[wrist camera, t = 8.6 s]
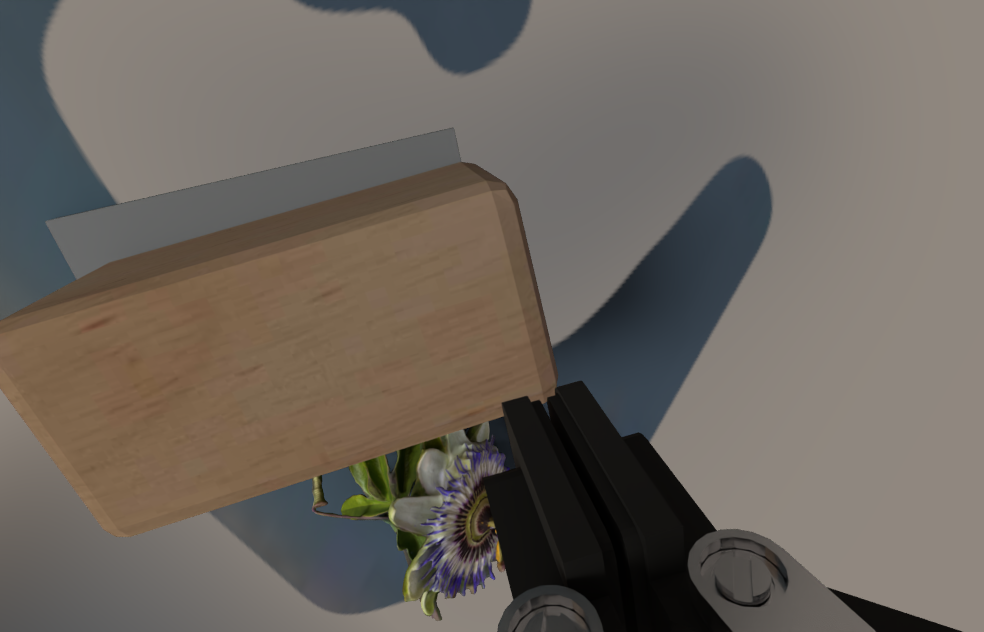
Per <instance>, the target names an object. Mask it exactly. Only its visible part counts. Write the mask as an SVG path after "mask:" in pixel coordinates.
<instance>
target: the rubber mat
mask: <svg viewBox="0 0 984 632" xmlns="http://www.w3.org/2000/svg"><path fill="white" fill-rule="evenodd" d="M458 162H461V158H460V154H459V149H458V145H457V140H456V136H455V131H454V128H449V129H445V130H440V131H436V132H432V133H427V134H424V135H418V136H414V137H410V138H406V139H401V140H397V141H392V142H388V143H383V144H379V145H375V146H370V147H367V148H362V149H357V150H353V151H348V152H344V153H340V154H336V155H331V156H327V157H322V158H318V159H314V160H309V161H305V162H301V163H296V164H292V165H287V166H283V167H279V168H274V169H270V170H266V171H261V172H257V173H252V174H248V175H244V176H239V177H235V178H230V179H226V180H222V181H217V182H213V183H209V184H204V185H200V186H195V187H191V188H187V189H182V190H178V191H174V192H169V193H165V194H161V195H156V196H152V197H148V198H143V199H139V200H134V201H130V202H125V203H121V204H117V205H112V206H108V207H104V208H99V209H95V210H90V211H86V212H82V213H77V214H73V215H69V216H64V217H60V218H55V219H51V220H48V221H45V222H46V224H47V226H48V228H49V230H50V232H51V233H52V235H53V237H54V239H55V241H56V243H57V244H58V246H59V248H60V250H61V252H62V254H63V255H64V257H65V259H66V261H67V263H68V265H69V266H70V268H71V270H72V272H73V274H74V276H75V277H76V279H79V278H81V277H83V276H85V275H87V274H89V273H90V272H92V271H94V270H96V269H98V268H100V267H102V266H104V265H105V264H107V263H109V262H113V261H116V260H120V259H123V258H127V257H130V256H134V255H137V254H141V253H144V252H148V251H151V250H155V249H158V248H161V247H165V246H168V245H172V244H175V243H179V242H182V241H186V240H189V239H193V238H196V237H200V236H203V235H207V234H210V233H214V232H217V231H221V230H224V229H228V228H231V227H235V226H238V225H242V224H245V223H249V222H252V221H256V220H259V219H263V218H266V217H270V216H273V215H277V214H280V213H284V212H287V211H291V210H294V209H298V208H301V207H305V206H308V205H312V204H315V203H319V202H322V201H326V200H329V199H333V198H336V197H340V196H343V195H347V194H350V193H354V192H357V191H361V190H364V189H368V188H371V187H375V186H378V185H382V184H385V183H389V182H392V181H396V180H399V179H402V178H406V177H409V176H413V175H416V174H420V173H423V172H427V171H430V170H434V169H437V168H441V167H444V166H448V165H451V164H455V163H458Z"/></svg>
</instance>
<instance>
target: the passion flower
mask: <svg viewBox="0 0 984 632" xmlns="http://www.w3.org/2000/svg"><path fill="white" fill-rule="evenodd" d="M489 432H490V430H489V422H488V421H487V422H484V423H481V424H478V425H475V426H472V427H470V428H469V430H468V432H467V434H465V430H464V429H463V430H459V431H456V432H453V433H450V434H447V435H444V436H441V437H438V438H435V439H432V440H428V441H425V442H422V443H419V444H416V445H413V446H410V447H407V448H404V449H401V450H398V451H396V452H397V462H396V465H395V468H394V469H393V470H392V471H391V472H390V468H389V466H388V461H387V458H386V454H385V455H382V456H379V457H376V458H373V459H370V460H367V461H363V462H360V463H357V464H354V465H351V466H349V470H350V472H351V474H352V475H353V477H354V479H355V481H356V483H358V484H359V486H360V487H361V488H362V491H363V492H364V493H365V495H366V496H368V497H366V496H365V495H363V494H359V495H353V496H351V497H350V498H348V499H347V500H346V501H345V502H344V504H343V505H342V509H341V512H342V514H343V515H338V514H334V513H324V512H319V511H316V508H317V507H321V506H325V505H327V504H328V502H327V501H325V499H324V493H323V489H322V475H320V476H317V477H314V478H312V481H313V488H312V493H313V495H314V503H313V507H312V511H313V512H315V513H316V514H319V515H324V516H331V517H336V518H347V519H351V520H382V521H384V522H386V523H388V524H390V526H391V527H392V528H393V530H394V531H395V532H396V534H397V547H398V550H399V551H402V550H403V551H404V554H405V558H406V560H407V563H408V566H409V567H408V569H407V571H406V574H405V578H404V582H403V595H404V601H405V602H408V601H416V600H418V599H420V602H421V606H422V609H423V612H424V613H425V615H427V616H431V615H432V618H435V619H436V621H440V620H442V617H441V614H440V611H439V608H438V607H437V602H436V600H437V595H438V593H439V592H442V593H444V595H445V599H446V598H455V597H456V594H457V592H458V593H460V594H461V595H462V596H465V590H466V589H470V592H471V594H475V593H476V591H477V586H478V585H482V589H484V588H485V585H484V580H485V578H487V577H490V578H492V579H494V580H495V576H494V574H493V572H492V563H491V562H493V561H497V567H498V569H499V571H500V572H503V571H505V565H504V561H503V557H502V553H501V549H500V545H499V541H498V537H497V533H496V529H495V525H494V521H493V517H492V513H491V509H490V505H489V502H488V498H487V494H486V490H485V486H484V482H483V478H484V477H487V476H491V475H494V474H498V473H501V472H504V471H508V470H509V469H510V468H509V467H505V466H504V461H505V459H506V456H505V455H504V454H503V453H498V449H497V447H496V446H494V445H493V443H494V440H495V436H494V438H493V440H492V437H493V435H492V437H491V440H490V442H488V440H489ZM415 480H416V482H415ZM414 482H415V485H414V487H413V490H412V493H411V496H410V492H411V488H412V486H413V483H414ZM409 496H410V497H409ZM378 515H379V516H378Z"/></svg>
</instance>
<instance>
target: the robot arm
mask: <svg viewBox="0 0 984 632" xmlns="http://www.w3.org/2000/svg"><path fill="white" fill-rule="evenodd" d="M547 404H548V409H549V415H550V418H549V416H548V414H547V413H546V411H545V409H544V407H543V405H542V403H541V401H540V400H536V401H532V402H531V401H530V399H529V397H528V396H524V397H520V398H516V399H513V400H509V401H506V402H502V409H503V414H504V418H505V423H506V427H507V431H508V436H509V440H510V444H511V449H512V453H513V457H514V462H515V466H516V468H515V469H511V470H508V471H504V472H501V473H498V474H494V475H491V476H487V477H484V478H483V482H484V486H485V490H486V494H487V498H488V502H489V505H490V509H491V513H492V517H493V521H494V525H495V529H496V533H497V537H498V541H499V545H500V549H501V553H502V557H503V561H504V565H505V569H506V573H507V576H508V580H509V584H510V588H511V592H512V596H513V601H512V602H511V604H510V605H509V606H508V607H507V608H506V609H505V611H504V613H503V615H502V618H501V620H500V622H499V624H498V631H497V632H962V631H959V630H955V629H953V628H950V627H947V626H943V625H940V624H937V623H935V622H931V621H928V620H925V619H922V618H919V617H916V616H913V615H910V614H907V613H904V612H901V611H898V610H895V609H891V608H888V607H886V606H882V605H879V604H876V603H873V602H870V601H867V600H864V599H861V598H858V597H855V596H852V595H848V594H846V593H843V592H840V591H837V590H834V589H831V588H827V587H825V586H824V585H823V584H822V583H821V582H820V581H819V580H818V579H817V578H816V577H814V576H813V575H812V574H811V573H810V572H809V571H808V570H806V569H805V568H804V567H803V566H802V565H801V564H800V563H799V562H797V561H796V560H795V559H794V558H793V557H792V556H791V555H790V554H789V553H788V552H786V551H785V550H784V549H783V548H781V547H780V546H779V545H777V544H776V543H774V542H773V541H771V540H770V539H768V538H765V537H763V536H761V535H759V534H756V533H753V532H749V531H744V530H739V529H726V530H718V531H717V530H716V529H715V528H714V526H713V525H712V524H711V522H710V521H709V520H708V519H707V517H706V516H705V515H704V513H703V512H702V511H701V509H700V508H699V507H698V505H697V504H696V503H695V501H694V500H693V499H692V498H691V496H690V495H689V494H688V492H687V491H686V490H685V488H684V487H683V486H682V484H681V483H680V482H679V481H678V479H677V478H676V477H675V475H674V474H673V473H672V471H671V470H670V469H669V467H668V466H667V465H666V463H665V462H664V461H663V460H662V458H661V457H660V456H659V454H658V453H657V452H656V451H655V449H654V448H653V446H652V445H651V444H650V443H649V441H648V440H647V439H646V438H645V437H644V435H643V434H641V433H639V432H638V433H635V434H632V435H628V436H625V437H621V436H620V435H619V433H618V432H617V430H616V429H615V427H614V426H613V424H612V423H611V422H610V420H609V419H608V417H607V416H606V414H605V413H604V411H603V410H602V409H601V407H600V406H599V404H598V403H597V401H596V400H595V398H594V397H593V396H592V394H591V393H590V391H589V390H588V388H587V387H586V385H585V384H584V383H583V382H582V381H577V382H574V383H570V384H567V385H563V386H559V387H556V388H555V395H554V396H550V397H547Z"/></svg>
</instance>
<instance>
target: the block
mask: <svg viewBox="0 0 984 632" xmlns="http://www.w3.org/2000/svg"><path fill="white" fill-rule="evenodd" d="M557 379H558V372H557V368H556V363H555V359H554V355H553V350H552V346H551V342H550V337H549V333H548V329H547V325H546V320H545V316H544V312H543V308H542V303H541V299H540V295H539V291H538V286H537V282H536V277H535V274H534V269H533V264H532V260H531V256H530V252H529V248H528V243H527V239H526V235H525V230H524V226H523V222H522V217H521V213H520V209H519V204H518V201H517V198H516V197H515V196H514V194H513V193H512V191H511V190H510V188H509V187H508V186H507V184H506V183H504V182H503V181H501V180H500V179H498V178H497V177H495V176H493V175H492V174H490V173H489V172H487V171H485V170H484V169H482V168H480V167H479V166H477V165H476V164H472V163H464V162H458V163H455V164H451V165H448V166H444V167H441V168H437V169H434V170H430V171H427V172H423V173H420V174H416V175H413V176H409V177H406V178H402V179H399V180H396V181H392V182H389V183H385V184H382V185H378V186H375V187H371V188H368V189H364V190H361V191H357V192H354V193H350V194H347V195H343V196H340V197H336V198H333V199H329V200H326V201H322V202H319V203H315V204H312V205H308V206H305V207H301V208H298V209H294V210H291V211H287V212H284V213H280V214H277V215H273V216H270V217H266V218H263V219H259V220H256V221H252V222H249V223H245V224H242V225H238V226H235V227H231V228H228V229H224V230H221V231H217V232H214V233H210V234H207V235H203V236H200V237H196V238H193V239H189V240H186V241H182V242H179V243H175V244H172V245H168V246H165V247H161V248H158V249H155V250H151V251H148V252H144V253H141V254H137V255H134V256H130V257H127V258H123V259H120V260H116V261H113V262H109V263H107V264H105V265H104V266H102V267H100V268H98V269H96V270H94V271H92V272H90V273H89V274H87V275H85V276H83V277H81V278H79V279H77V280H75V281H74V282H72V283H70V284H68V285H66V286H64V287H62V288H61V289H59V290H57V291H55V292H53V293H51V294H49V295H47V296H46V297H44V298H42V299H40V300H38V301H36V302H34V303H33V304H31V305H29V306H27V307H25V308H23V309H21V310H19V311H18V312H16V313H14V314H12V315H10V316H8V317H6V318H5V319H3V320H1V321H0V389H1V390H2V391H3V393H4V394H5V396H6V397H7V398H8V400H9V401H10V402H11V404H12V405H13V406H14V408H15V409H16V411H17V412H18V413H19V415H20V416H21V417H22V419H23V420H24V422H25V423H26V424H27V426H28V427H29V428H30V430H31V431H32V432H33V434H34V435H35V437H36V438H37V439H38V441H39V442H40V443H41V445H42V446H43V447H44V449H45V450H46V452H47V453H48V454H49V456H50V457H51V458H52V460H53V461H54V462H55V464H56V465H57V467H58V468H59V469H60V471H61V472H62V473H63V475H64V476H65V477H66V479H67V480H68V481H69V483H70V484H71V485H72V487H73V488H74V490H75V491H76V492H77V494H78V495H79V496H80V498H81V499H82V501H83V502H84V503H85V504H86V506H87V508H88V509H89V510H90V511H91V513H92V514H93V516H94V517H95V518H96V520H97V521H98V523H99V524H100V525H101V527H102V528H103V529H104V530H105V531H107V532H109V533H110V534H112V535H114V536H116V537H131V536H134V535H137V534H141V533H144V532H146V531H150V530H153V529H156V528H159V527H162V526H165V525H168V524H171V523H175V522H177V521H181V520H184V519H187V518H190V517H193V516H196V515H199V514H202V513H205V512H209V511H212V510H215V509H218V508H221V507H224V506H227V505H230V504H233V503H237V502H240V501H243V500H246V499H249V498H252V497H255V496H258V495H261V494H264V493H267V492H271V491H274V490H277V489H280V488H283V487H286V486H289V485H292V484H295V483H298V482H302V481H305V480H308V479H311V478H314V477H317V476H320V475H323V474H326V473H329V472H332V471H336V470H339V469H342V468H345V467H348V466H351V465H354V464H357V463H360V462H363V461H367V460H370V459H373V458H376V457H379V456H382V455H385V454H388V453H391V452H394V451H398V450H401V449H404V448H407V447H410V446H413V445H416V444H419V443H422V442H425V441H428V440H432V439H435V438H438V437H441V436H444V435H447V434H450V433H453V432H456V431H459V430H463V429H466V428H469V427H472V426H475V425H478V424H481V423H484V422H487V421H490V420H493V419H497V418H500V417H503V416H504V414H503V409H502V402H506V401H509V400H513V399H516V398H520V397H524V396H528V397H529V399H530V401H531V402H532V401H536V400H540V401H541V403H542V404H543V403H545V402H547V397H550V396H554V395H555V388H556V385H557Z"/></svg>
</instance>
